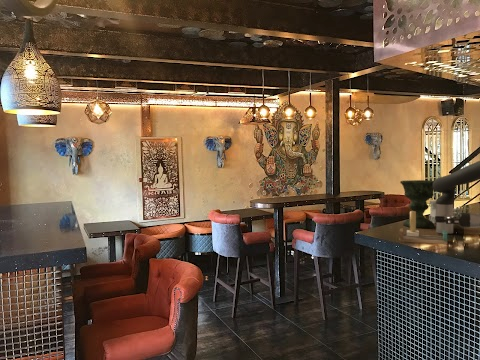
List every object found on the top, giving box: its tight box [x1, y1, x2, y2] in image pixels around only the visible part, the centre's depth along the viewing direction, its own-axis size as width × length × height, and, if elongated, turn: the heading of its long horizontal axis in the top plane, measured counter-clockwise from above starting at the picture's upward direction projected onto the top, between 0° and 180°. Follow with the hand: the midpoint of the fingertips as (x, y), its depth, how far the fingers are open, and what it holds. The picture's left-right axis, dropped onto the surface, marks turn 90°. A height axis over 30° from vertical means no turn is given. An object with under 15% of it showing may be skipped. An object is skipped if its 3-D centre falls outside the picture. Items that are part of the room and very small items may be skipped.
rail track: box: [399, 228, 448, 245], centre depth 216 cm, size 10×23×6 cm, turn 66°
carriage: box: [406, 210, 420, 237], centre depth 217 cm, size 7×6×13 cm
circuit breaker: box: [428, 199, 455, 224], centre depth 277 cm, size 8×14×15 cm, turn 89°
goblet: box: [399, 179, 436, 229], centre depth 262 cm, size 22×23×30 cm
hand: (435, 219), depth 213 cm, fingers open, 8 cm apart
